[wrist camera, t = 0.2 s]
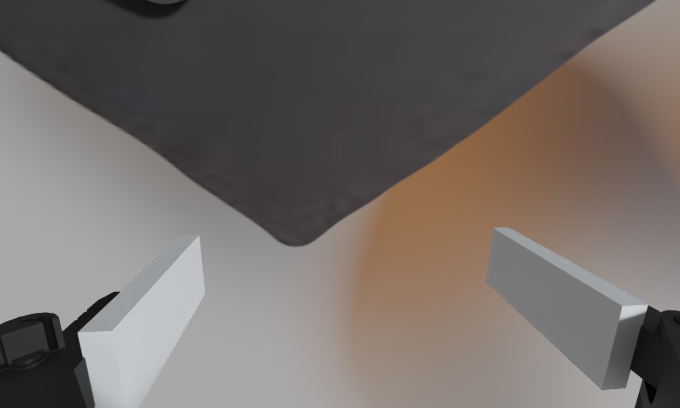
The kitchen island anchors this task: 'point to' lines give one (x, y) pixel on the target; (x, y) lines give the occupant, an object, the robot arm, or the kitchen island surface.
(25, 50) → the kitchen island surface
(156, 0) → the media streaming box
